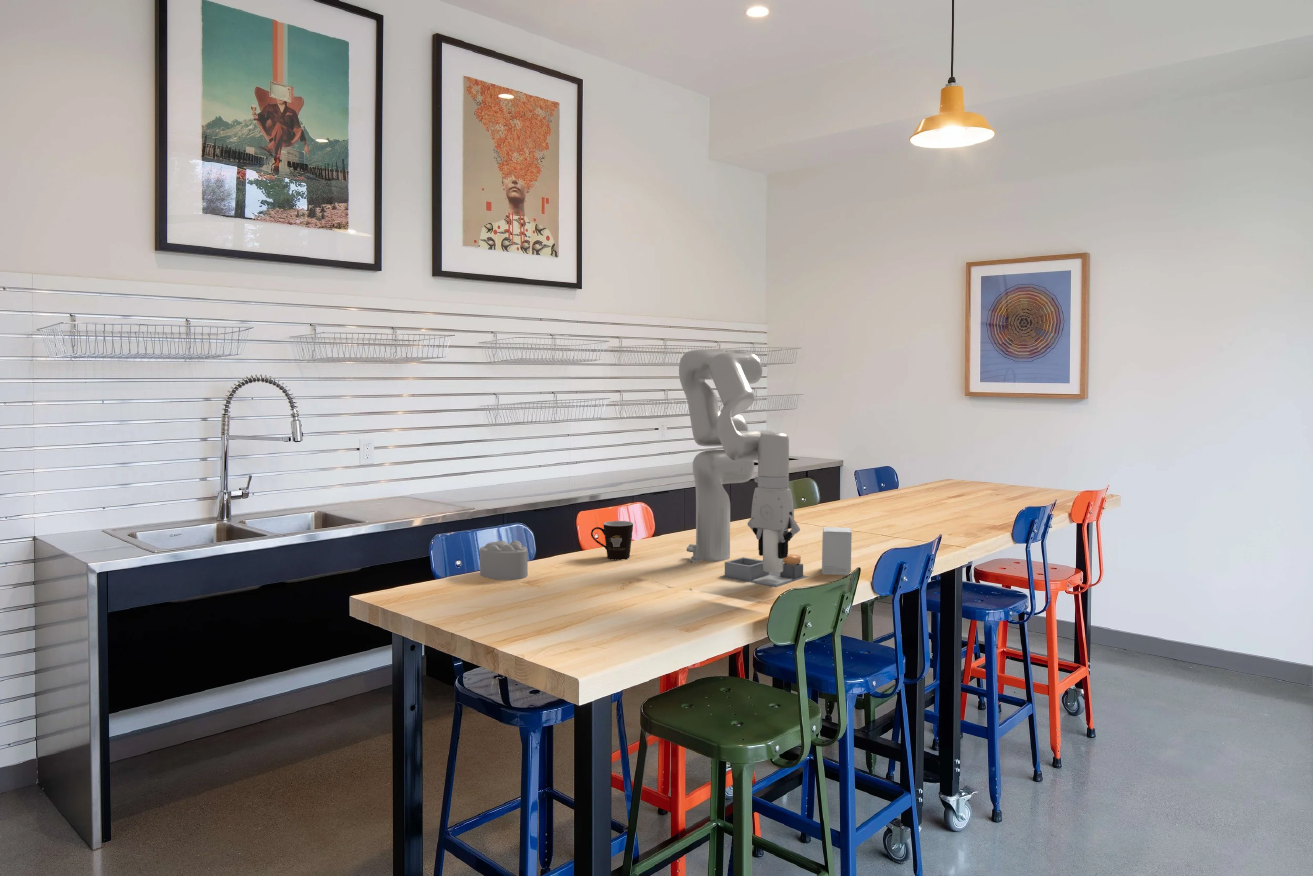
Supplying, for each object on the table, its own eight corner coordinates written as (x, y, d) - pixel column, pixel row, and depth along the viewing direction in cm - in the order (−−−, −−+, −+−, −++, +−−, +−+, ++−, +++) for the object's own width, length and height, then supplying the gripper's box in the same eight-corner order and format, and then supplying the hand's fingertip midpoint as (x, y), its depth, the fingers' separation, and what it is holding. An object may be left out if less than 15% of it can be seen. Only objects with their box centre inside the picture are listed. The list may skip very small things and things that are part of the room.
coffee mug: (639, 556, 249) (639, 522, 249) (622, 562, 242) (622, 527, 241) (606, 552, 255) (606, 519, 255) (589, 557, 248) (588, 523, 248)
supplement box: (851, 581, 219) (851, 532, 218) (821, 579, 221) (822, 531, 220) (850, 574, 226) (851, 527, 226) (821, 573, 228) (822, 526, 227)
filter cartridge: (758, 570, 212) (758, 514, 211) (770, 567, 216) (770, 512, 215) (775, 573, 209) (776, 516, 208) (787, 570, 213) (787, 514, 212)
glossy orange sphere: (779, 573, 218) (779, 556, 218) (789, 570, 222) (789, 553, 221) (794, 576, 215) (794, 558, 215) (803, 573, 219) (803, 556, 218)
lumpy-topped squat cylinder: (505, 568, 235) (505, 536, 234) (537, 575, 226) (537, 542, 226) (474, 575, 227) (474, 542, 226) (506, 582, 218) (506, 548, 218)
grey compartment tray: (719, 582, 218) (719, 562, 218) (753, 572, 229) (753, 553, 229) (775, 593, 207) (776, 572, 207) (808, 582, 218) (808, 562, 218)
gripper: (736, 482, 214) (736, 554, 215) (794, 487, 203) (794, 563, 204) (753, 479, 219) (753, 549, 221) (811, 484, 208) (811, 558, 209)
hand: (773, 555), depth 212 cm, fingers closed on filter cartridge, 5 cm apart
